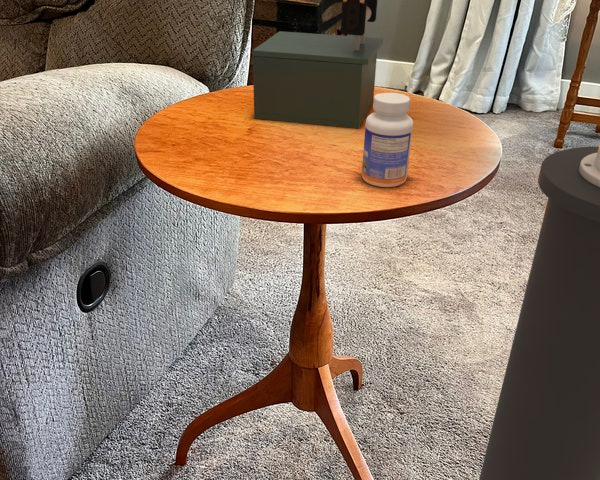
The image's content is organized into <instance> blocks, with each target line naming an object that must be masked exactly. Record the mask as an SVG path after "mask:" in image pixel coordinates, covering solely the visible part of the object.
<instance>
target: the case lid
mask: <svg viewBox="0 0 600 480" xmlns="http://www.w3.org/2000/svg"><path fill="white" fill-rule="evenodd" d="M370 17H371V10H370V8H369V7H367V8H366V22H365V31H366V28H367V23H368V22H367V21H368V19H369V18H370ZM383 44H384V38H381V37H368V36H367V37H366V32H365V33H364V34H363V35H362V36H358V35H340V34H339V35H338V34H324V33H323V34H322V33H311V32H310V33H308V32H296V31H295V32H294V31H282V30H281V31H280V30H279V31H278V32H276V33H275V34H274V35H272V36H270V37H269V38H268V39H267V40H266V41H264V42H263V43H261V44H259V45H257V46H256V47H255V48H254V49H253V50H252V57H253V56H260V57H273V58H286V59H299V60H312V61H325V62H338V63H351V64H364V65H368V64H369V63H370V61H371V60H372V58H373V57H374V56H375V54H376V53H377V54H378V51H379V50H380V49H381V47H382V46H383Z"/></svg>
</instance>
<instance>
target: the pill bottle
mask: <svg viewBox="0 0 600 480" xmlns="http://www.w3.org/2000/svg"><path fill="white" fill-rule="evenodd" d="M410 105H411V98H410V96H408V95H407V94H402V93H399V92H380V93H377V94H374V99H373V103H372V109H373V111H374V112H372V113H369V115H367V117H366V119H365V126H364V129H365V130H364V138H363V139H364V140H363V151H362V164H361V178H362V179H363V181H364V182H365V183H367V184H369V185H372V186H375V187H380V188H393V187H397V186H401V185H403V184H404V183H405V182H406V181H407V177H408V171H409V162H410V154H411V146H412V138H413V131H414V120H413V119H412V117H411V116H410V115H409V114H407V113H409V110H410V107H411V106H410Z"/></svg>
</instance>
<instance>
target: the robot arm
mask: <svg viewBox="0 0 600 480" xmlns="http://www.w3.org/2000/svg"><path fill="white" fill-rule="evenodd" d="M367 7H369V8H370V10H371V17H370V18H369V19H368V21H367V22H366V8H367ZM377 10H378V0H342V1H341V17H340V18H341V20H340V33H341V35H345V36H355V35H358V36H362V35H363V34H364V33H365V34H366V30H365V22H366V23H374V22H376V19H377ZM598 147H599V148H598V152H597V153H593V154H590V155H588V156H586V157H584V158H583V159H582V160H581V163H580V167H579V172H580V174H581V175H582V177H583V178H584V179H585V180H587V181H588V182H590V183H591V184H593V185H595V186H597V187H599V188H600V144H599V145H598Z"/></svg>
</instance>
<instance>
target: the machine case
mask: <svg viewBox="0 0 600 480" xmlns="http://www.w3.org/2000/svg"><path fill="white" fill-rule="evenodd" d="M377 58H378V52H377V53H376V54H375V56H374V57H373V58H372V60H371V61H370V63H369V64H368V65H364V64H351V63H338V62H325V61H312V60H299V59H286V58H273V57H260V56H253V55H252V82H253V83H252V85H253V86H252V87H253V118H254V119H256V120H264V121H265V120H266V121H277V122H287V123H298V124H307V125H319V126H327V127H339V128H348V129H359V128H360V126H361V124H362V123H363V121H364V119H365V118H366V115H367V114H368V112H369V110H370V108H371V106H373V103H374V97H375V84H376V73H377V71H376V70H377Z"/></svg>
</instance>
